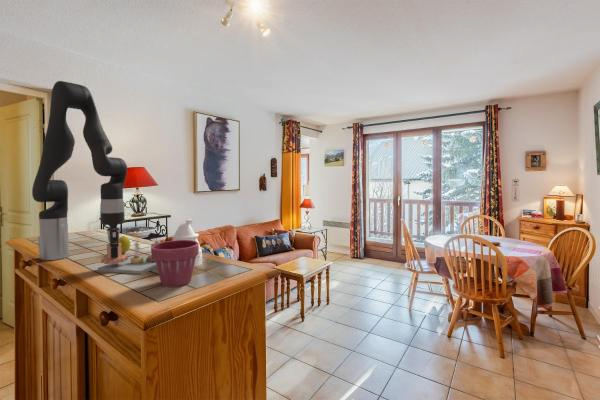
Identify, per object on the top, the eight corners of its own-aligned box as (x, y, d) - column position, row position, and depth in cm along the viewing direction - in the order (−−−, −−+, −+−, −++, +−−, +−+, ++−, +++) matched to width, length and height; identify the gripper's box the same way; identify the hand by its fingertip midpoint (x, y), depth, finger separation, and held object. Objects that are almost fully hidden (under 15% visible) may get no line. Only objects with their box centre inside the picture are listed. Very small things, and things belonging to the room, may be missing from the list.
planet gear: (95, 263, 109) (94, 246, 109) (113, 257, 117) (113, 241, 117) (115, 264, 108) (114, 247, 107) (132, 258, 116) (132, 242, 115)
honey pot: (207, 260, 125) (206, 217, 124) (193, 269, 113) (192, 222, 111) (178, 259, 127) (177, 217, 125) (161, 268, 114) (160, 221, 113)
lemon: (126, 254, 133) (125, 237, 133) (113, 254, 133) (113, 237, 133) (133, 251, 139) (132, 234, 138) (121, 251, 139) (120, 234, 138)
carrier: (98, 271, 110) (97, 247, 109) (134, 258, 128) (133, 237, 127) (142, 274, 106) (141, 249, 106) (173, 260, 124) (173, 239, 124)
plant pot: (148, 292, 90) (146, 250, 89) (156, 277, 103) (155, 240, 102) (198, 287, 94) (197, 247, 93) (200, 274, 107) (199, 238, 106)
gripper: (125, 212, 107) (127, 259, 109) (122, 209, 119) (124, 251, 120) (100, 213, 103) (102, 262, 104) (100, 210, 115) (101, 253, 116)
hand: (114, 256), depth 112 cm, fingers closed on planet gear, 4 cm apart
